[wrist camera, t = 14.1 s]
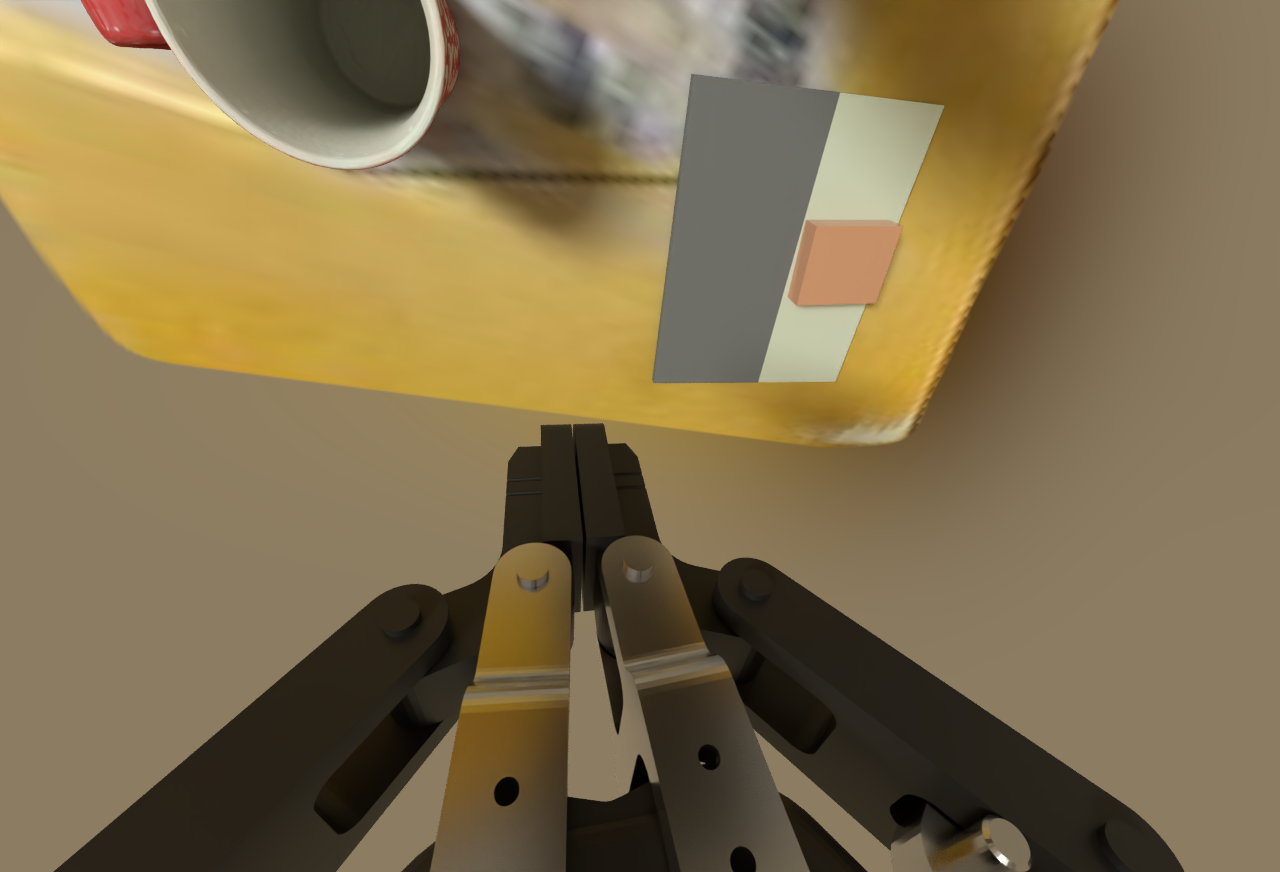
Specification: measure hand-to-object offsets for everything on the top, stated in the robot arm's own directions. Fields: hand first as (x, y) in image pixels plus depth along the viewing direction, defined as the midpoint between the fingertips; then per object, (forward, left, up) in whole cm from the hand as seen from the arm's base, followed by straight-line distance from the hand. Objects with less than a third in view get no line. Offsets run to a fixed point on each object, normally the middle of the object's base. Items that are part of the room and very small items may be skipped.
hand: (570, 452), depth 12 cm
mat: (+3, +18, -27) cm, 33 cm away
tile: (+3, +23, -26) cm, 34 cm away
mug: (-8, -10, -27) cm, 30 cm away
